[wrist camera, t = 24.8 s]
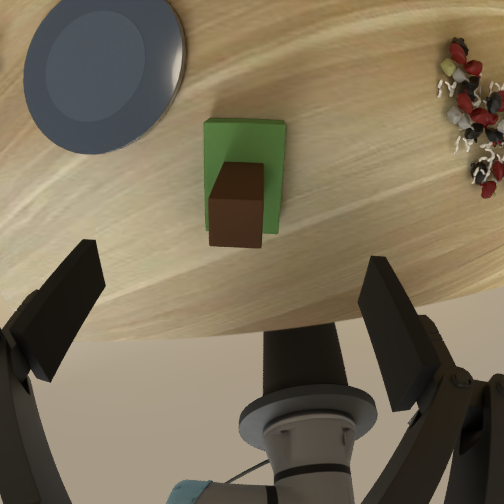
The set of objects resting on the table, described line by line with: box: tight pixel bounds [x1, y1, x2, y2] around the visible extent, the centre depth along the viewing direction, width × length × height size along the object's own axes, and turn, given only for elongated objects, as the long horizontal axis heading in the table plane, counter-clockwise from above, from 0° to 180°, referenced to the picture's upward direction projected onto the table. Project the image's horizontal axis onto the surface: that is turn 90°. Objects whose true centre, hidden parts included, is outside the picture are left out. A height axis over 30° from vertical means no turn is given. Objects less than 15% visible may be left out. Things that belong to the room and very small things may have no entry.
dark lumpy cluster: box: [437, 37, 504, 198], centre depth 20 cm, size 15×14×5 cm
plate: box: [23, 0, 186, 155], centre depth 20 cm, size 16×16×1 cm
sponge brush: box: [204, 118, 286, 248], centre depth 22 cm, size 9×6×10 cm, turn 178°
